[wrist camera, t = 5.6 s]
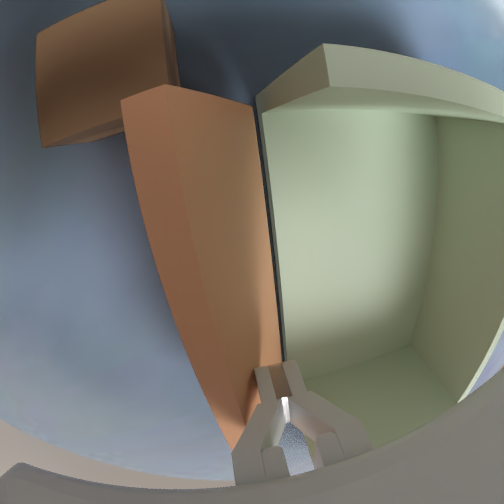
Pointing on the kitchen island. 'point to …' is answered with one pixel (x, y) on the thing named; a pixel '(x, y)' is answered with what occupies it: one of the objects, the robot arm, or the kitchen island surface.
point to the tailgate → (208, 238)
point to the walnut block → (101, 67)
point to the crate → (385, 230)
